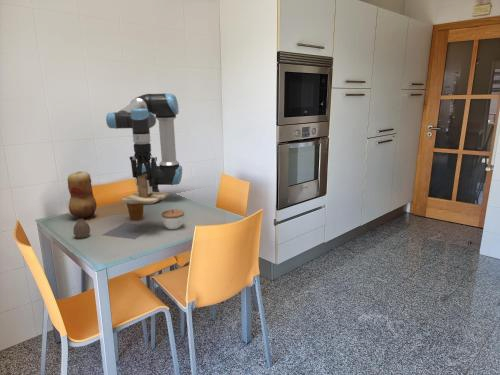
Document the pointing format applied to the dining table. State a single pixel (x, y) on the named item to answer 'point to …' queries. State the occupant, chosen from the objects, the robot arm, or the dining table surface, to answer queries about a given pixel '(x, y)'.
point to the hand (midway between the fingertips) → (145, 192)
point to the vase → (81, 229)
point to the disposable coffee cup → (135, 211)
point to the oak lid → (144, 193)
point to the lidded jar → (173, 219)
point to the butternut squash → (81, 195)
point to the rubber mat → (129, 230)
